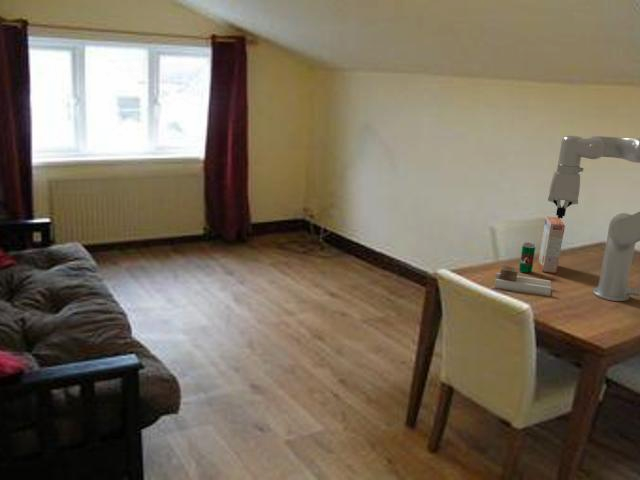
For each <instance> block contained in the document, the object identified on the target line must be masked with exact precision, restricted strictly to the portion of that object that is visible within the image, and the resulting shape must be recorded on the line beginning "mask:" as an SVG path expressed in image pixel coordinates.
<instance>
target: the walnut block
mask: <svg viewBox="0 0 640 480" xmlns="http://www.w3.org/2000/svg"><path fill="white" fill-rule="evenodd" d="M518 271H519V267H515V266H507V265H501V268H500V273H501V274H500V279H501V280H507V281H514V282H516V279H517V276H518Z"/></svg>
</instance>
